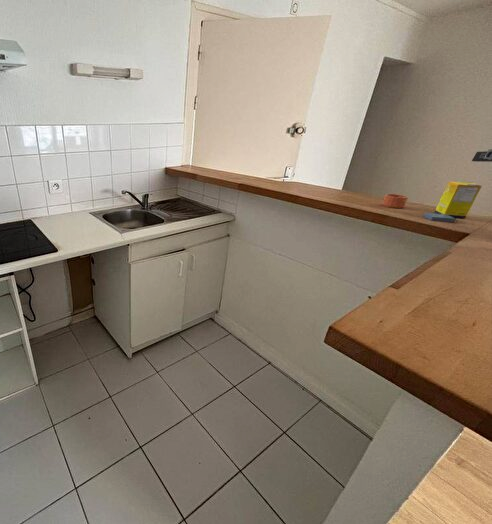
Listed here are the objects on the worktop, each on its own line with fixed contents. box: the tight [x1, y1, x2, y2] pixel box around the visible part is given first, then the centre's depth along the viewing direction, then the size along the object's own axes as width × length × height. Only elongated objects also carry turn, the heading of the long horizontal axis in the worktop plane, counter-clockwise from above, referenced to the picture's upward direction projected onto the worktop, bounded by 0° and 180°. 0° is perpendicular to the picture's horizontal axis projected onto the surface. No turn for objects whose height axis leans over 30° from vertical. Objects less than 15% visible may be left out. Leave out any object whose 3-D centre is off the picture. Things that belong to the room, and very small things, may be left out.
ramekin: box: [381, 193, 409, 209], centre depth 106 cm, size 7×7×4 cm
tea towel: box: [423, 212, 457, 223], centre depth 93 cm, size 6×5×1 cm
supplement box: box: [434, 180, 483, 219], centre depth 94 cm, size 6×6×11 cm
